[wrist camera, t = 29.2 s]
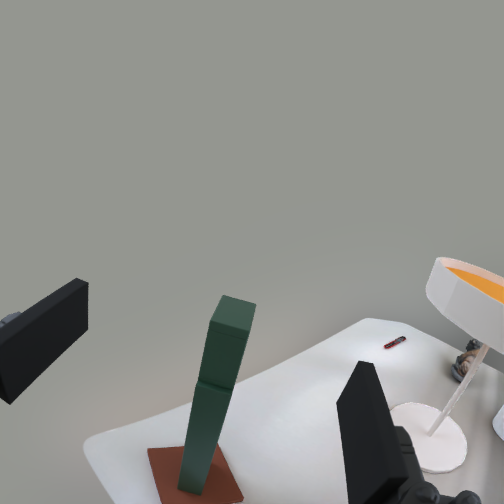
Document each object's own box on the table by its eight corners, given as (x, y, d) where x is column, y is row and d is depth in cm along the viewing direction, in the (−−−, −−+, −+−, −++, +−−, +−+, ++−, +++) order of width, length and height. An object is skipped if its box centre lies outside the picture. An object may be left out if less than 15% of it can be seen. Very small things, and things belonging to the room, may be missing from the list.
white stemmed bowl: (395, 512, 29) (536, 334, 20) (341, 391, 57) (404, 244, 48) (502, 470, 34) (594, 335, 25) (441, 388, 62) (499, 272, 53)
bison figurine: (465, 388, 63) (484, 357, 60) (445, 377, 67) (463, 346, 64) (470, 371, 71) (486, 342, 68) (452, 361, 76) (467, 333, 73)
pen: (381, 347, 78) (382, 345, 78) (402, 336, 87) (403, 334, 87) (386, 350, 77) (387, 348, 76) (407, 339, 85) (407, 337, 85)
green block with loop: (176, 489, 29) (208, 324, 22) (188, 455, 35) (224, 291, 28) (200, 495, 29) (249, 335, 22) (210, 461, 35) (257, 300, 28)
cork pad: (164, 513, 26) (165, 511, 26) (147, 452, 34) (147, 448, 34) (242, 501, 30) (244, 498, 30) (216, 446, 39) (217, 442, 39)
